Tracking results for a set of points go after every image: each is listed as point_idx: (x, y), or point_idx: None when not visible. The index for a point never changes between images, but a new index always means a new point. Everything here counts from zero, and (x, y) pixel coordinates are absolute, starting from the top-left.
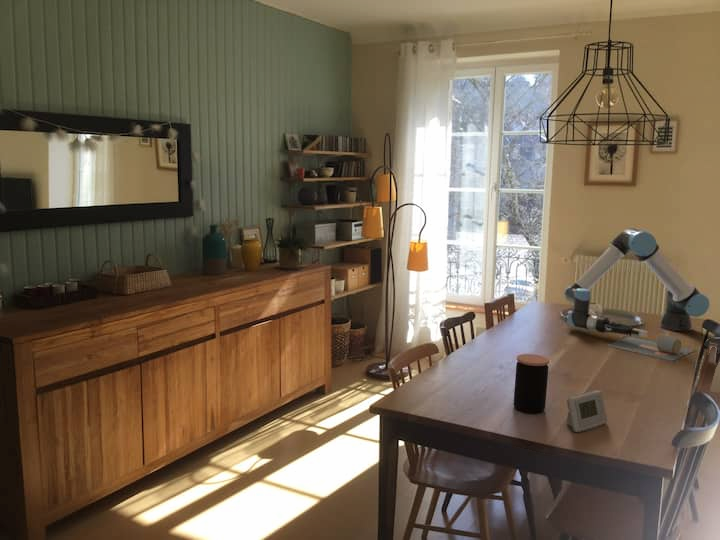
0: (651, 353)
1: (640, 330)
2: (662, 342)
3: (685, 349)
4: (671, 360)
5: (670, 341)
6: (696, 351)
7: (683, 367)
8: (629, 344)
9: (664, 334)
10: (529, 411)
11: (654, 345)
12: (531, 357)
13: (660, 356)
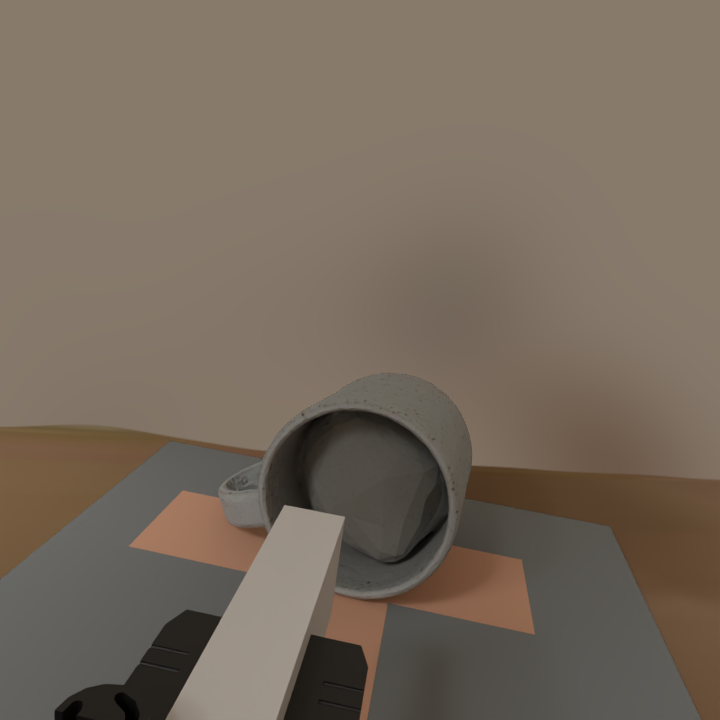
0: (571, 654)
1: (317, 585)
2: (463, 476)
3: (148, 466)
4: (604, 529)
5: (459, 418)
6: (154, 435)
7: (665, 491)
8: None
9: (366, 396)
10: None
11: (118, 658)
12: None
13: (584, 586)
